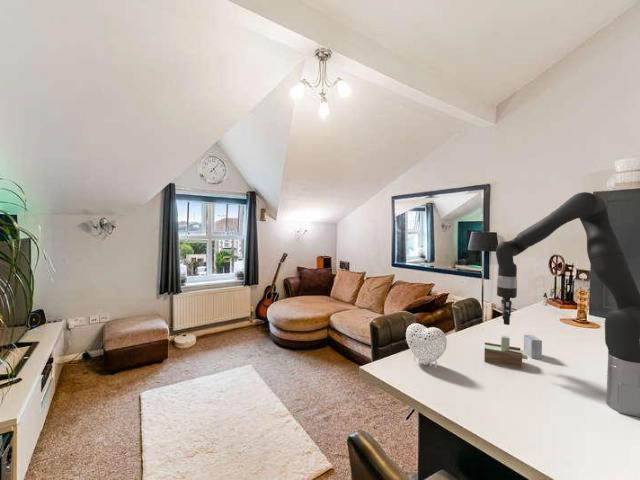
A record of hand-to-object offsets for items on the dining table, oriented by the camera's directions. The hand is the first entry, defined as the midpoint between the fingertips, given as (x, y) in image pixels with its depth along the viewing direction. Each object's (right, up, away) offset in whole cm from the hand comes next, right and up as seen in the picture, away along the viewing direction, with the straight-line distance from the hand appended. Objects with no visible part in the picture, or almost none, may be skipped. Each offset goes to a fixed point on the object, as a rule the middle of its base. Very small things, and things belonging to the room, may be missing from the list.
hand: (505, 321), depth 134 cm
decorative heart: (-37, -18, -2) cm, 41 cm away
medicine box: (+18, -18, +8) cm, 27 cm away
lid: (0, -14, 0) cm, 14 cm away
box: (-1, -18, +1) cm, 18 cm away
